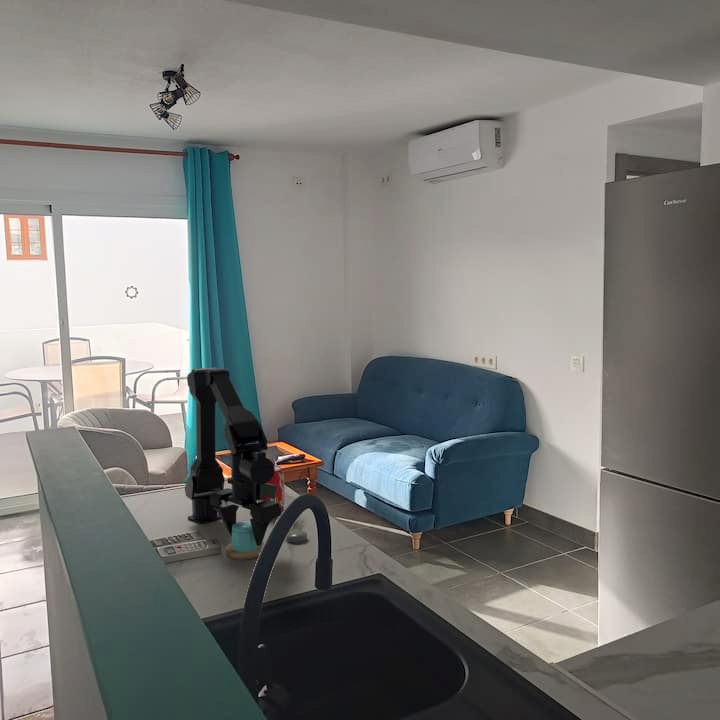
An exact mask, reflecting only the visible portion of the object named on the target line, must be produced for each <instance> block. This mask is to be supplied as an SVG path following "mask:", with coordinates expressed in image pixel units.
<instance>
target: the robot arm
mask: <svg viewBox="0 0 720 720" xmlns="http://www.w3.org/2000/svg"><path fill="white" fill-rule="evenodd" d="M186 378H187V379H186V382H187V387H188V388H189V389H188V390H189V393H190V395H191V397H192V398H193V400H194V401H195V406H196V407H195V409H196V411H195V412H196V413H195V414H196V415H195V416H196V420H195V421H196V423H195V424H196V458H195V460H194V461H193V463H192V465H191V466H190V471H189V477H188V479H187V481H186V483H185V486H184V492H185V497H187V498H188V499H190V501H191V507H192V515H188V516H187V519H188V520H189V521H192V522H193V521H194V522H196V523H199V524H202V525H203V524H206V523H209V522H210V523H211V522H213V521H215V520H219V519H221V521H222V523H223V525H224V527H225V528H226V530H227V532H228V533H229V536H230V537H232V525H233V524H235V523H237V511H238V510H239V508H243V509H247V510H249V511H250V513H249V514H250V516H251V518H250V519H249V521H250V522H251V526H252V530H253V534H254V538H255V542H256V544H257V546H260V545H261V544H262V542H263V543H264V538H265V535H266V532H267V530H268V527H269V525H270V524H271V522H272V521H273V520H275V519H277V518H278V517H281V516H282V515H281V514H282V512H283V510H282V507H281V505H280V504H279V503H277V502H273V501H270V500H267V501H263V502H260V503H258V500H263V499H264V497H269V498H272V499H275V497H276V493H277V489H278V486H277V485H273V484H269V483H267V482H269V481H270V480H271V479H272V477H273V476H274V473H275V467H274V465H275V464H274V463H273V461H272V460H271V459H269V458H268V457H267V453H266V450H268V449H269V448H268V442H269V441H268V439H267V437H266V433H265V431H264V429H263V427H262V424H261V423H260V422H259V419H258V418H257V416H255V414H254V412H252V411H251V410H249V409H246V408H245V407H244V405H243V403H242V401H241V398H240V397H239V395H238V392H237V391H236V388H235V387H234V385H233V382H232V381H231V379H230V378H231V377H230V371H229V369H226V368H218V367H204V368H203V367H202V368H193V369H191V371H190V372H189V373H188V374H187V377H186ZM216 403H217V404H218V407H219V408H220V411H221V413H222V415H223V417H224V420H225V423H224V426H223V431H224V432H223V433H224V438H225V440H226V442H227V445H228V446H229V447H228V450H229V451H230V467H231V468H230V469H231V470H230V471H231V473H230V474H231V477H229V478H227V484H229V485H231V488H230V487H227V488H226V487H225V480H226V479H225V476H224V470H223V467H222V466H221V465H220V463H219V462H218V460H217V458H216V456H217V455H216V454H217V453H216V448H217V447H216V442H217V441H216ZM224 487H225V488H224Z"/></svg>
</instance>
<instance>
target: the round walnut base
mask: <svg viewBox="0 0 720 720" xmlns="http://www.w3.org/2000/svg"><path fill="white" fill-rule="evenodd" d="M264 543H265V542H264V541H263V542H262V544H261V545H260V546H259V549H256V550H253V551H251V552H238V551H236V550H233V549H232V542H231V543H230V542H229V543H228V544H227V545H226V547H225V554H226V557H228V558H230V559H233V560H240V561H241V560H242V561H243V560H244V561H245V560H252V559H257V558H259V557H258V556H259V553H260V552H261V549H262V547H263V545H264Z"/></svg>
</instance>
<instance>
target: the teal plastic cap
mask: <svg viewBox="0 0 720 720" xmlns="http://www.w3.org/2000/svg"><path fill="white" fill-rule="evenodd" d="M231 543H232V549H233V550H236V551H238V552H251V551H253V550H256V549H259V546H257V544H256V542H255V538H254V534H253V530H252V526H251V522H250V520H244V521H243V520H242V521H239V522H236V523H235V524H233V525H232V536H231Z"/></svg>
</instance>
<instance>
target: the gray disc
mask: <svg viewBox="0 0 720 720" xmlns="http://www.w3.org/2000/svg"><path fill="white" fill-rule="evenodd" d="M289 532H290V533H289V535H288V536H287V539H286V538H285V541H286V542H287V543H290V544H301V543H305V542H306V541H307V539H308V533H307V532H306V531H303V530H302V531H301V530H292V531H289Z"/></svg>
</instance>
